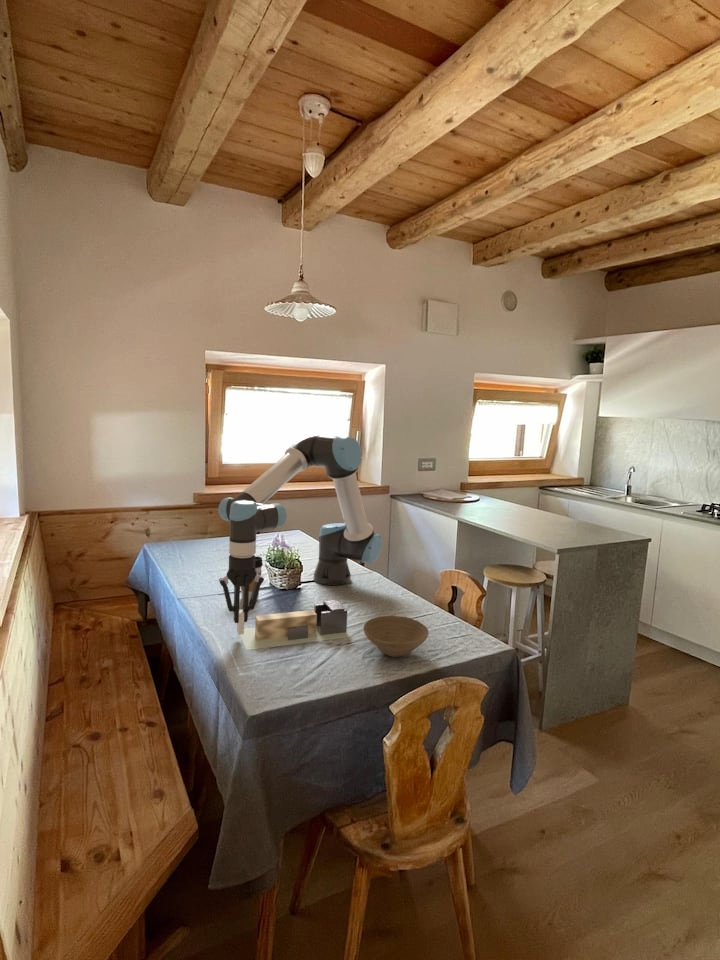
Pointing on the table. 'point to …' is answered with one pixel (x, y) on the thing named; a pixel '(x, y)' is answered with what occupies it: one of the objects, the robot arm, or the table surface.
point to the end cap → (331, 617)
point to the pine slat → (283, 623)
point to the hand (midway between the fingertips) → (240, 632)
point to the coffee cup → (258, 569)
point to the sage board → (284, 639)
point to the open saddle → (297, 632)
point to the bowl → (395, 634)
